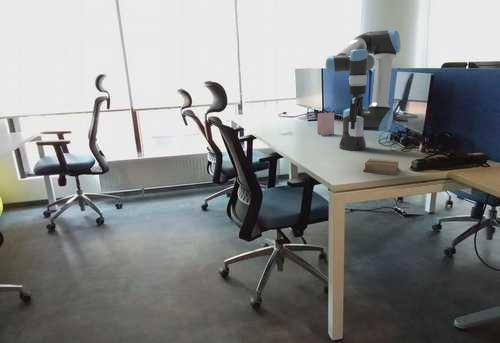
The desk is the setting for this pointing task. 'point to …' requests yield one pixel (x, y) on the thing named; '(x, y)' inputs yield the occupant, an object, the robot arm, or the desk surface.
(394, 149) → the desk surface
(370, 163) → the plinth
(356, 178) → the desk surface
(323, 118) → the pink rectangular block
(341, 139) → the robot arm
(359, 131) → the medicine box
